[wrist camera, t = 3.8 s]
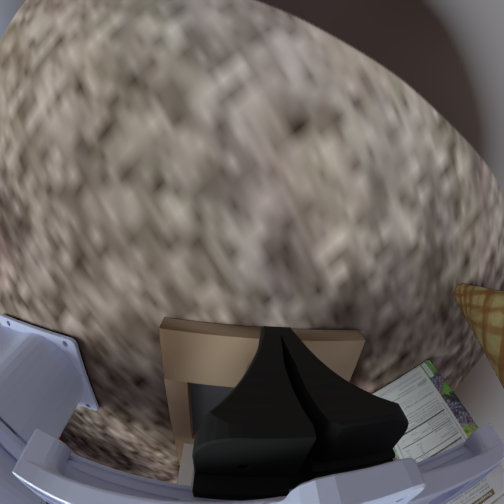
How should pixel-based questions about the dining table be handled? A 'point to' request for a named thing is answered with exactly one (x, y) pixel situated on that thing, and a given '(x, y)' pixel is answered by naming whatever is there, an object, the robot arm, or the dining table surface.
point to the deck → (229, 365)
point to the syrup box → (437, 426)
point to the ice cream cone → (485, 321)
